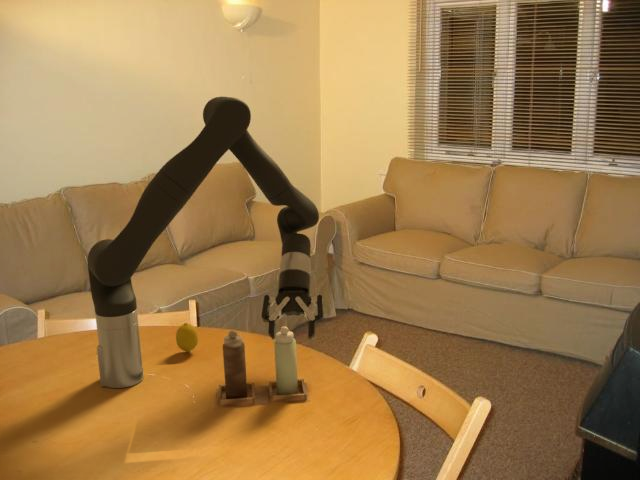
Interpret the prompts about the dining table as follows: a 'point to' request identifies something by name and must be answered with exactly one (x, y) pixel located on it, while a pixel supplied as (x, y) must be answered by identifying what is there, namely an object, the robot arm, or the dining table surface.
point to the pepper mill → (234, 366)
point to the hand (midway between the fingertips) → (291, 338)
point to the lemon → (187, 337)
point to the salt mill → (285, 362)
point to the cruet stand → (261, 395)
